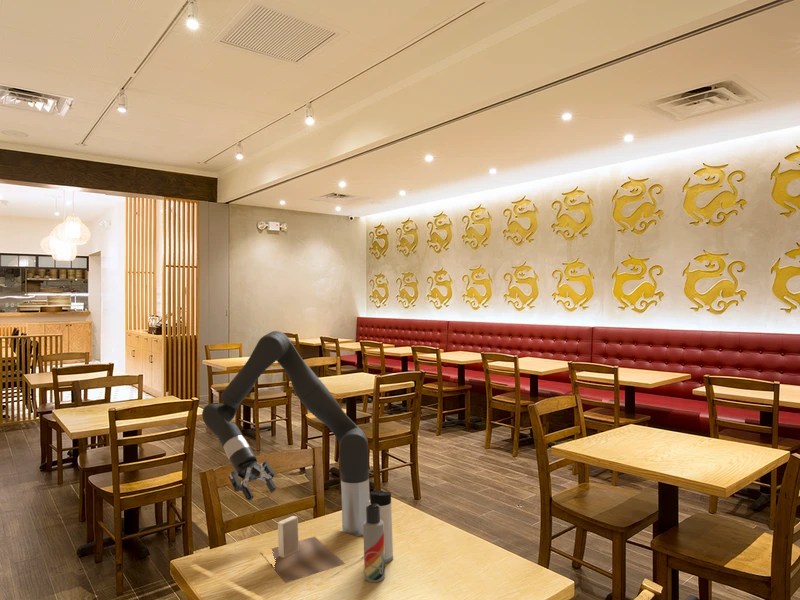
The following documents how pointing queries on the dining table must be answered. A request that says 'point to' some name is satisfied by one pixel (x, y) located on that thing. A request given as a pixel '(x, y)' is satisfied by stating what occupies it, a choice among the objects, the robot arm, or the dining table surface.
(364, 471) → the robot arm
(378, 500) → the travel mug
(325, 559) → the cloth
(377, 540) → the lotion bottle
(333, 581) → the dining table surface
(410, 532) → the dining table surface
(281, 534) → the tile
